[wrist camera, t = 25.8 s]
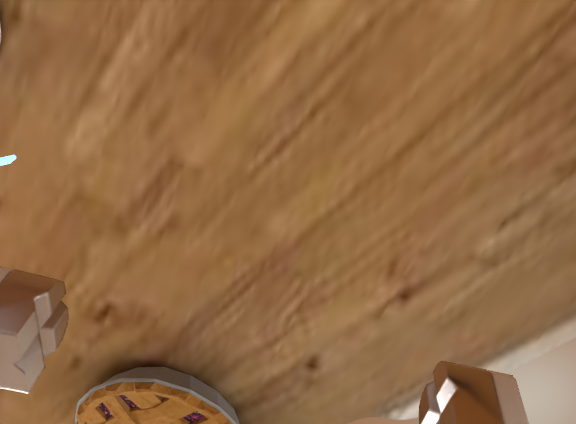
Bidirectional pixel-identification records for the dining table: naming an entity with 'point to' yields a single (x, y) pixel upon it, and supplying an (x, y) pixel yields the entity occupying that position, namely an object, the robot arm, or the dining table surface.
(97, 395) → the pie
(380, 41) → the dining table surface
